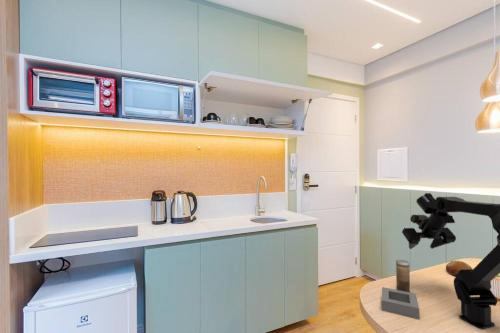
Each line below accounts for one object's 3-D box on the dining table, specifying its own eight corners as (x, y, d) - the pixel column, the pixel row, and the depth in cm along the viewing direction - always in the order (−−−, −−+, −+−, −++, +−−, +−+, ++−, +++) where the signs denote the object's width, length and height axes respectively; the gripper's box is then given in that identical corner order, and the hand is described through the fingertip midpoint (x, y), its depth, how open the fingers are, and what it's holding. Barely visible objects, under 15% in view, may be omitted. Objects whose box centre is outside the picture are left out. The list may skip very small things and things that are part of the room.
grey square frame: (415, 303, 91) (415, 293, 91) (419, 319, 81) (419, 308, 82) (382, 295, 96) (382, 286, 96) (381, 310, 87) (381, 300, 87)
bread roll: (472, 282, 115) (470, 264, 118) (477, 280, 107) (475, 261, 110) (445, 277, 120) (444, 260, 123) (448, 275, 112) (447, 257, 115)
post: (412, 295, 97) (412, 263, 97) (403, 297, 95) (403, 264, 96) (402, 289, 101) (402, 259, 101) (393, 291, 100) (393, 260, 100)
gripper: (445, 207, 103) (430, 232, 112) (401, 208, 103) (389, 233, 112) (465, 228, 94) (446, 253, 103) (417, 229, 94) (402, 254, 103)
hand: (420, 247), depth 105 cm, fingers open, 9 cm apart
